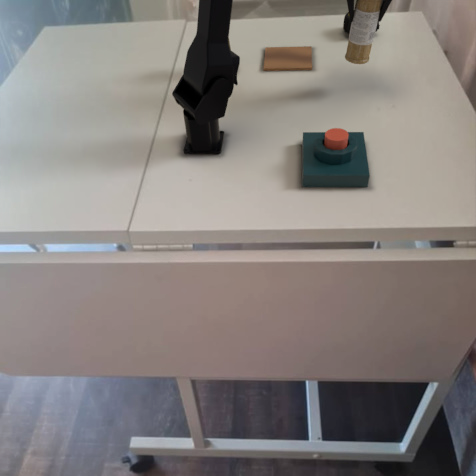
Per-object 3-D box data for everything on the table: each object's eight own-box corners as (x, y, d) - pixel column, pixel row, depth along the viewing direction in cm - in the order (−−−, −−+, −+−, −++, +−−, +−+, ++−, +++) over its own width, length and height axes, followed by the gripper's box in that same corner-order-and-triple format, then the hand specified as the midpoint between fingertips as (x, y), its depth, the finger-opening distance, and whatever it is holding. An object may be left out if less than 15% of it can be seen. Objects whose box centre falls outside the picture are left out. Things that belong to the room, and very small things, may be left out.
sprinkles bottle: (356, 52, 90) (373, -34, 80) (374, 61, 88) (394, -26, 77) (338, 58, 88) (354, -29, 78) (357, 67, 86) (376, -21, 76)
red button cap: (347, 151, 74) (349, 140, 72) (324, 151, 74) (325, 140, 73) (346, 138, 76) (347, 127, 75) (323, 138, 76) (324, 128, 75)
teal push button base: (367, 187, 74) (371, 164, 71) (302, 187, 75) (303, 164, 72) (361, 143, 81) (365, 121, 78) (302, 143, 82) (303, 122, 79)
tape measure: (348, 41, 106) (351, 22, 103) (338, 29, 110) (340, 10, 107) (378, 36, 106) (381, 18, 103) (366, 24, 110) (369, 6, 108)
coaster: (311, 70, 98) (312, 67, 98) (263, 70, 99) (263, 68, 99) (311, 48, 104) (311, 46, 104) (265, 49, 105) (265, 47, 105)
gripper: (437, -112, 75) (413, 2, 87) (317, -106, 77) (310, 4, 89) (450, -93, 68) (423, 27, 80) (318, -88, 70) (311, 29, 82)
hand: (365, 21), depth 83 cm, fingers closed on sprinkles bottle, 4 cm apart
